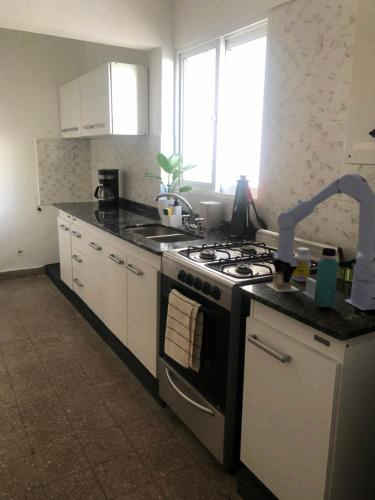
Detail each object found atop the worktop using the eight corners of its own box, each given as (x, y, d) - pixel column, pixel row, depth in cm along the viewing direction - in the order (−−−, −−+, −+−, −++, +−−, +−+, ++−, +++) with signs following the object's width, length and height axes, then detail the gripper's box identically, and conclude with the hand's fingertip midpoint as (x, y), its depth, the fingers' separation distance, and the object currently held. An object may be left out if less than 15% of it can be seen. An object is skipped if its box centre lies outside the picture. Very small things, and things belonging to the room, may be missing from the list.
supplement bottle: (288, 279, 170) (291, 248, 167) (297, 276, 174) (300, 246, 172) (302, 282, 165) (305, 251, 162) (312, 280, 170) (315, 249, 167)
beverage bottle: (338, 310, 135) (345, 250, 131) (320, 312, 133) (326, 251, 129) (326, 304, 141) (332, 246, 137) (309, 305, 139) (314, 246, 135)
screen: (321, 300, 145) (323, 283, 144) (314, 300, 144) (316, 283, 143) (309, 293, 153) (310, 277, 151) (302, 293, 152) (304, 277, 150)
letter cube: (291, 288, 156) (292, 274, 155) (278, 289, 155) (279, 275, 153) (284, 284, 161) (285, 271, 159) (272, 285, 159) (273, 271, 158)
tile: (299, 290, 155) (299, 289, 155) (277, 292, 152) (277, 290, 152) (286, 283, 163) (287, 282, 163) (265, 284, 161) (266, 283, 161)
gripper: (266, 241, 160) (264, 275, 163) (285, 249, 146) (282, 286, 149) (283, 240, 162) (280, 274, 165) (303, 248, 148) (300, 285, 151)
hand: (282, 280), depth 157 cm, fingers closed on letter cube, 5 cm apart
